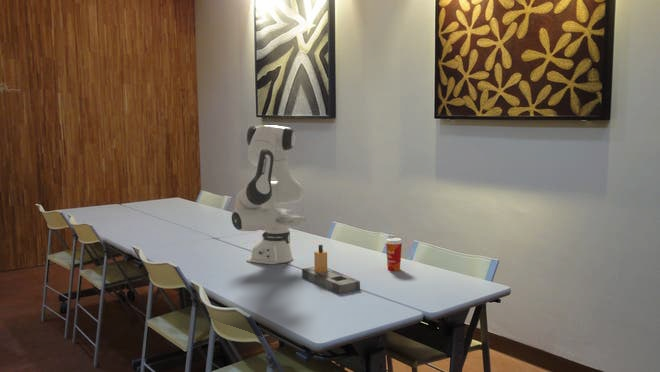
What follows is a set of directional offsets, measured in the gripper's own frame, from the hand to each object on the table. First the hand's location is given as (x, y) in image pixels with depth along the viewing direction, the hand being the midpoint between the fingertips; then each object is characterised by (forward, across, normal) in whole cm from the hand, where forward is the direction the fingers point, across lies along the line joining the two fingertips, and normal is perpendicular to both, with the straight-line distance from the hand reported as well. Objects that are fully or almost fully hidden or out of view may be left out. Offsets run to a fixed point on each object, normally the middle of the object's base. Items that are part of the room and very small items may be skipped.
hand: (299, 218), depth 246 cm
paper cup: (+48, -8, +25) cm, 54 cm away
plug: (+13, +1, +27) cm, 30 cm away
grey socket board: (+12, -6, +28) cm, 31 cm away
